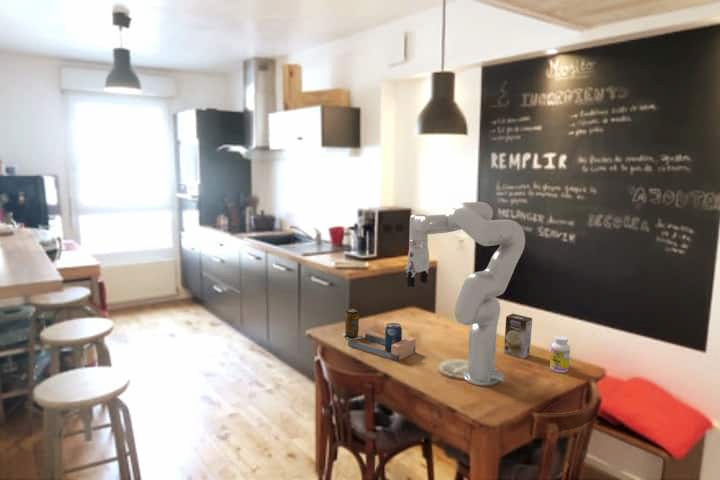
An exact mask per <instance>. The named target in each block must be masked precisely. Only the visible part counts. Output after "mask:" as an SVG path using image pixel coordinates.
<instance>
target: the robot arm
mask: <svg viewBox="0 0 720 480" xmlns="http://www.w3.org/2000/svg"><path fill="white" fill-rule="evenodd" d="M493 216H494V212H493V208H492V207H491V205H490V204H488V203H486V202H485V201H484V202H483V201H469V202H467V201H466V202H461V203H459V204H458V205H457V206H456V207H453V208H452V209H450V210H449V213H444V214H432V215H427V214H423V213H413V214H411V215H410V216H409V240H408V242H409V243H408V244H409V245H408V248H409V249H408V254H407V265H406V266H405V267H404V271H405V275H406V277H407V278H406V279H407V287H410V288H414V287H416V286H415V279H416V278H415V275H416V273H418V274H419V273H420V279H419V280H420V281H419V282H420V283H423V284H427V283H428V274H429V270H430V266H431V262H430V252H429V247H428V241H429V235H435V234H446V233H450V232H451V233H452V232H456V231H461V230H462V231H463V232H464V233H465V234H467V235H468V236H469V237H470V238H471V239H472V240H473V241H475V242H476V243H478V245H481V246H484V247H490V246H498V245H499V247H498V248H497V249H496V250H495V252H494V253H493V255H492V256H491V258H490V261H489V263H488V265H487V267H486V268H485V269H483V270H482V271H481V270H479V271H475V272H472V273H470V274H469V275H468V276H467V277H466V278H465V280H464V282H463V284H462V286H461V288H460V292H459V293H458V297H457V300H456V301H455V305H454V309H453V310H454V311H453V312H454V317H455V319H456V321H457V322H458V323H460V324H461V325H463V326H470V328H469V331H468V332H469V336H468V355H467V370H465V371H464V372H463V375H462V377H463V379H464V380H465V381H466V382H468V383H469V384H471V385H476V386H481V387H482V386H483V387H485V386H486V387H488V386H493V385H495V384H497V383H498V382H502V383H504V382H505V374H503V373H501V372H500V373H499V372H498V368H497V367H495V365H496V349H497V348H496V346H497V345H496V344H497V332H498V331H497V329H498V322H499V319H500V315H501V303H500V301H499V300H498V298H497V297H499V296H502V295H503V294H504V293H505V291H506V290H507V288H508V285H509V283H510V280H511V278H512V275H513V274H514V272H515V271H514V270H515V268H516V266H517V264H518V262H519V259H520V258H521V256H522V254H523V252H524V249H525V244H526V237H525V231H524V229H523V227H522V225H521V224H519V223H518V222H517V221H515V220H512V219H506V218H503V219H502V218H501V219H494V220H493Z"/></svg>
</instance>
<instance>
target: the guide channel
mask: <svg viewBox="0 0 720 480" xmlns="http://www.w3.org/2000/svg"><path fill="white" fill-rule="evenodd" d="M347 340H348V339H347ZM364 340H367V341H370V342H372V343H377V344H380V345H383V346H385V337H383V336H379V335H376V334H372V333H367V332H366V333H365V334H364ZM347 343H348V344H347V345H348V347H350V348H353V349H357V350H360V351H363V352H367V353H369V354H373V355H376V356H378V357H379V356H380V357H382V358H385V359H389V360H392V361H395V360H394V358H393V357H394V356H395V355H394V356H393V354H391V352H390V351H387V350H385V348H384V349H383V348H380V347H377V346H374V345H370V344H367V343H364V342H359V341H356V340H355V339H352V340H351V339H350V340H348V341H347ZM414 349H415V351H414ZM415 353H416V347H415V348H413V354H415ZM391 355H392V356H393V357H392V358H391ZM397 356H398V357H397V360H398V361H397V362H399V361H400V360H399V359H398V358H399V355H397Z"/></svg>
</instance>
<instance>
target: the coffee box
mask: <svg viewBox="0 0 720 480" xmlns="http://www.w3.org/2000/svg"><path fill="white" fill-rule="evenodd" d="M532 326H533V317H529V316H525V315H520V314H516V313H510V314H509V315H507V316H506V317H505V328H504V329H505V331H504V332H505V333H504V344H503V345H504V346H503V347H504V348H503V354H507V355H510V356H512V357H516V358H520V359H526V358H527V357H528V356H530V354H531V343H532V342H531V341H532Z"/></svg>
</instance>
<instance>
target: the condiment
mask: <svg viewBox="0 0 720 480" xmlns="http://www.w3.org/2000/svg"><path fill="white" fill-rule="evenodd" d="M358 311H359V310H357V309H355V308H352V309H347V310H346V312H345V319H344V320H345V324H344V325H345V328H344V329H345V330H344V333H342V336H343V337H344V339H345V340H361V339H362V336H361V335H360V334H359V330H360V329H359V312H358ZM347 337H348V338H347Z"/></svg>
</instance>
